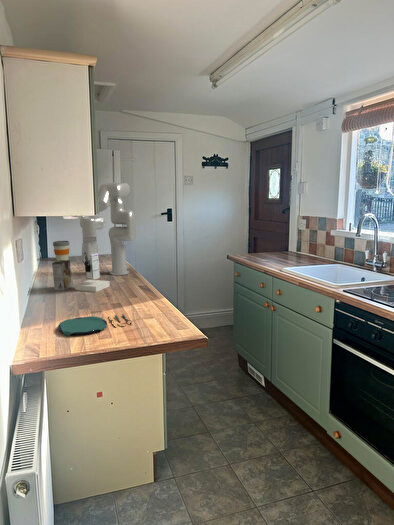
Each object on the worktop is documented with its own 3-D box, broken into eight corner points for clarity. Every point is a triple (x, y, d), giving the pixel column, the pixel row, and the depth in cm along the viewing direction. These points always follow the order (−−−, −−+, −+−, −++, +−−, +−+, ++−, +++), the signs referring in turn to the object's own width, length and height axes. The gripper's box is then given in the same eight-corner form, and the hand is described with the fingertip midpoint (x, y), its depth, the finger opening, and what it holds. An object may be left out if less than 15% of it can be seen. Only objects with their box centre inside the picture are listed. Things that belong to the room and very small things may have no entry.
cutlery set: (55, 324, 178) (55, 319, 178) (124, 315, 190) (123, 311, 190) (61, 340, 160) (60, 335, 160) (136, 329, 173) (135, 324, 172)
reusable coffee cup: (53, 262, 325) (51, 243, 322) (55, 259, 337) (53, 241, 334) (69, 261, 327) (68, 242, 324) (71, 258, 339) (69, 240, 336)
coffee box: (62, 286, 245) (60, 259, 242) (72, 286, 244) (70, 260, 241) (54, 290, 236) (51, 262, 233) (64, 290, 235) (62, 263, 232)
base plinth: (89, 284, 249) (89, 279, 248) (109, 286, 244) (109, 281, 244) (75, 290, 236) (74, 284, 235) (96, 291, 231) (95, 286, 231)
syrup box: (100, 277, 240) (98, 253, 237) (93, 279, 235) (91, 254, 232) (92, 276, 242) (91, 252, 240) (85, 278, 237) (83, 253, 235)
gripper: (92, 237, 244) (94, 267, 247) (74, 241, 228) (76, 273, 231) (103, 238, 241) (105, 268, 245) (86, 241, 226) (88, 274, 229)
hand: (91, 270), depth 238 cm, fingers closed on syrup box, 6 cm apart
